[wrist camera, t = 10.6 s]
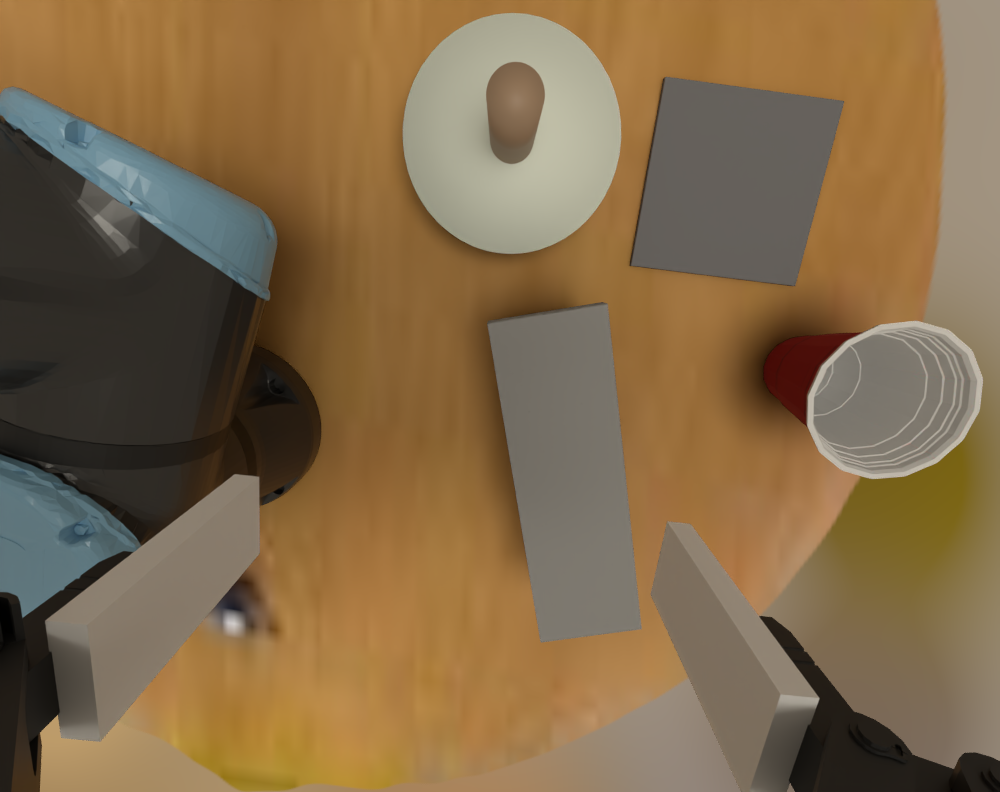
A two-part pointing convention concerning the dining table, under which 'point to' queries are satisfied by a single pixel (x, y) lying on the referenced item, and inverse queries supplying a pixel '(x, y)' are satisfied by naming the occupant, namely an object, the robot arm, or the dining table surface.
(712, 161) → the mat
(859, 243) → the dining table surface
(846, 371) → the plastic cup
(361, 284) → the dining table surface
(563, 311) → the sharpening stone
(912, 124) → the dining table surface
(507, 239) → the lid
